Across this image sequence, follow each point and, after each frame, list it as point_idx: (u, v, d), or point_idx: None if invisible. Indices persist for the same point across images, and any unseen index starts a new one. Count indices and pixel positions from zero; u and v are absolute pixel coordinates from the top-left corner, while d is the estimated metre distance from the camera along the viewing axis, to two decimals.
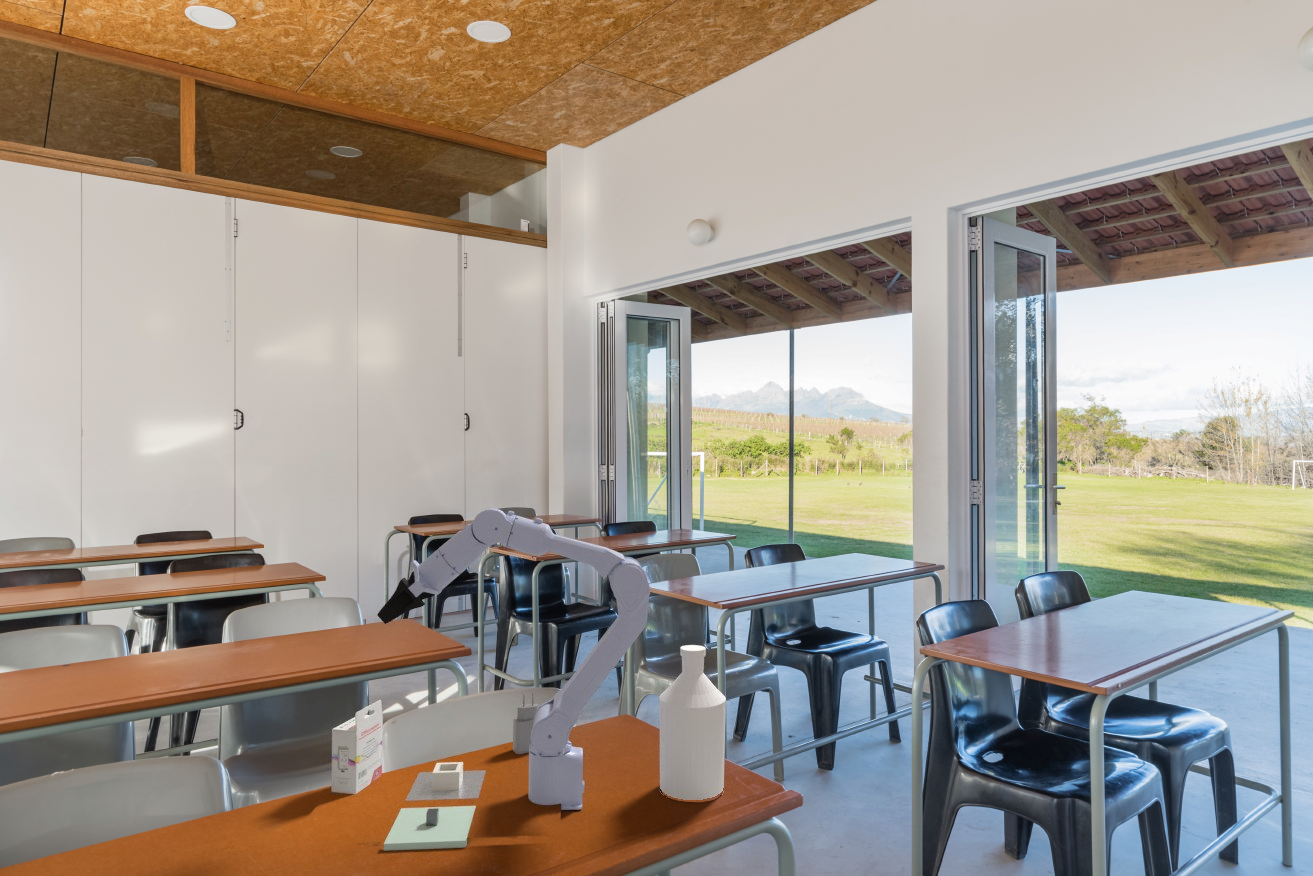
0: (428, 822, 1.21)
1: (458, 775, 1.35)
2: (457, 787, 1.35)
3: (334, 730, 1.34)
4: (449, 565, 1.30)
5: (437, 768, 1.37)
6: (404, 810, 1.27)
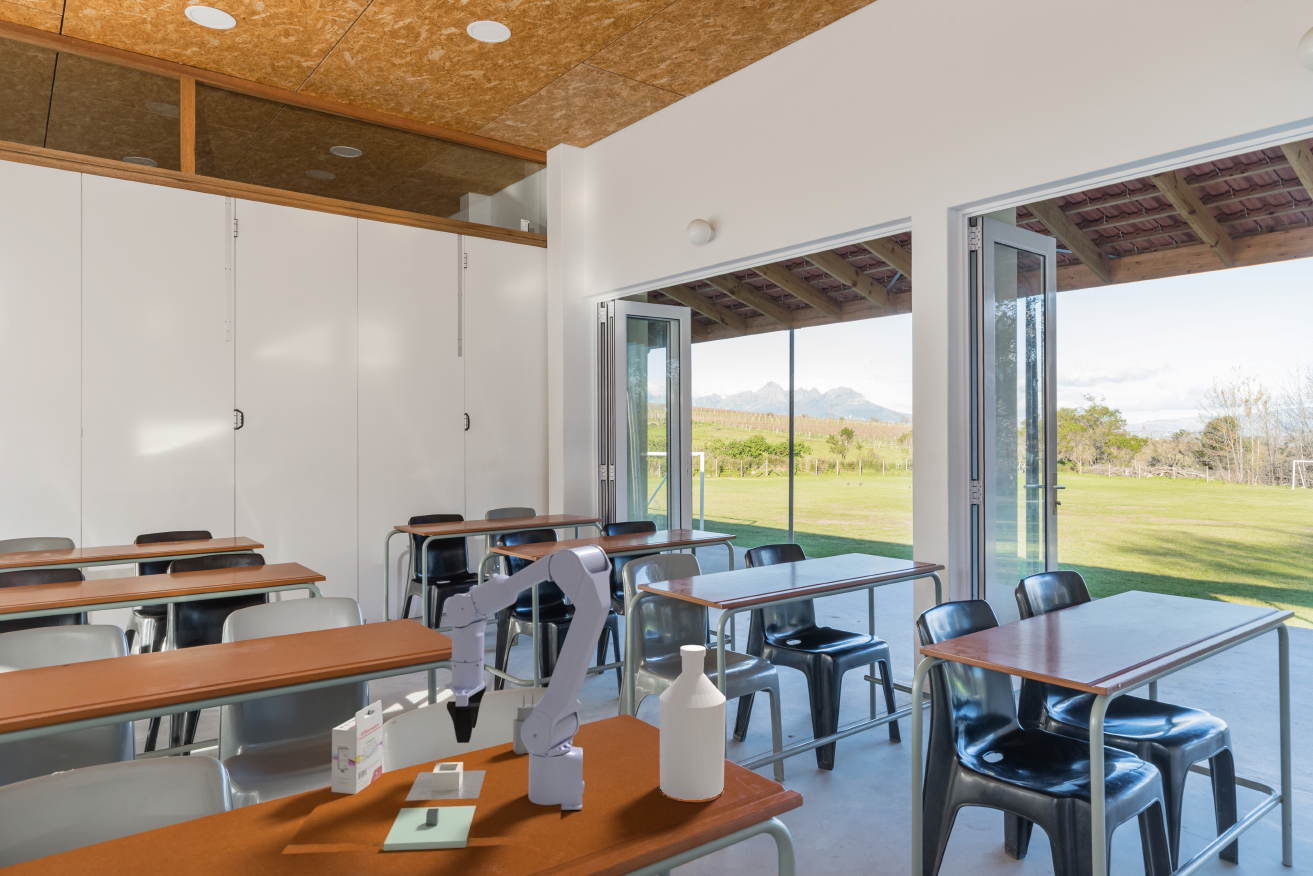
0: (428, 822, 1.21)
1: (458, 775, 1.35)
2: (457, 787, 1.35)
3: (334, 730, 1.34)
4: (468, 662, 1.39)
5: (437, 768, 1.37)
6: (404, 810, 1.27)
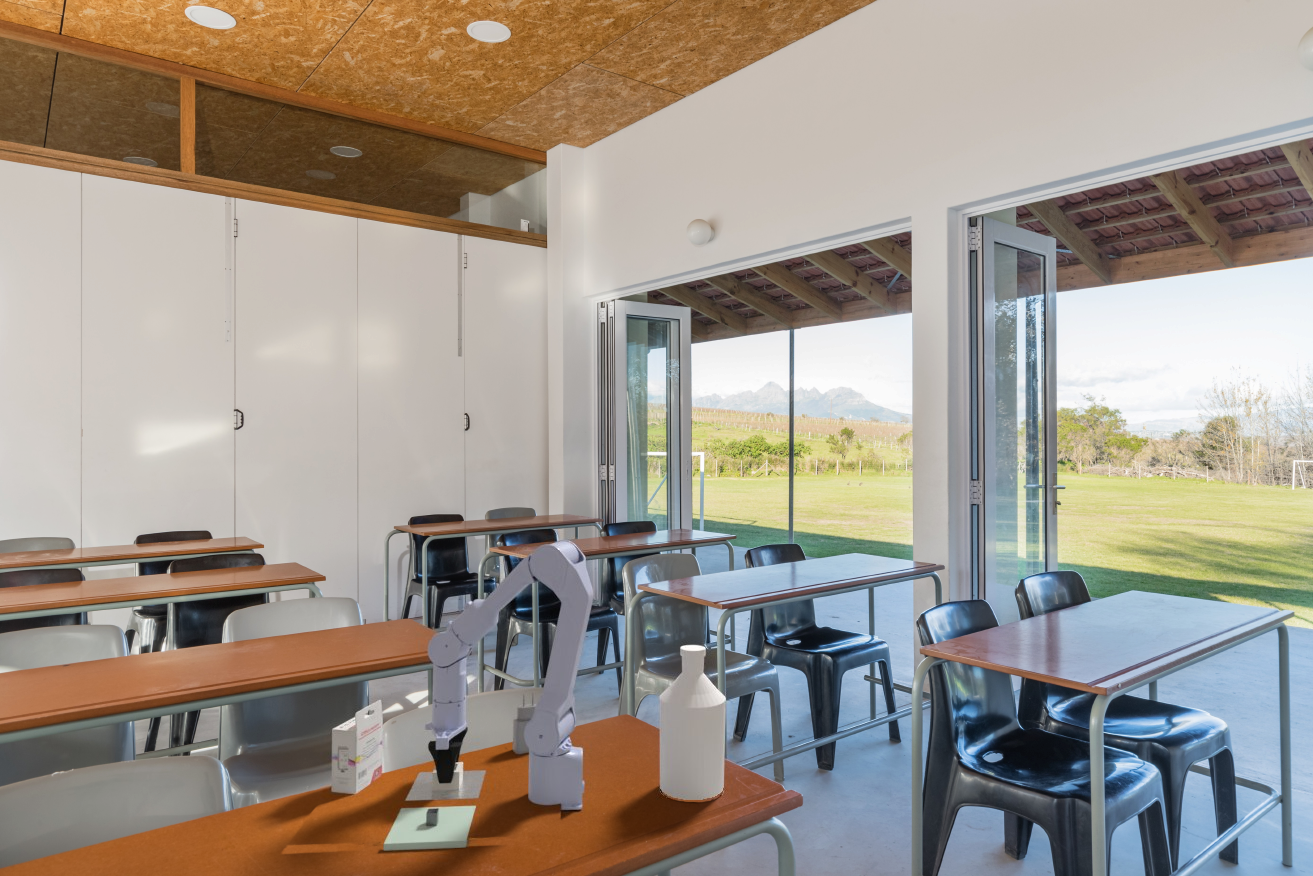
0: (428, 822, 1.21)
1: (458, 775, 1.35)
2: (457, 787, 1.35)
3: (334, 730, 1.34)
4: (450, 703, 1.35)
5: None
6: (404, 810, 1.27)
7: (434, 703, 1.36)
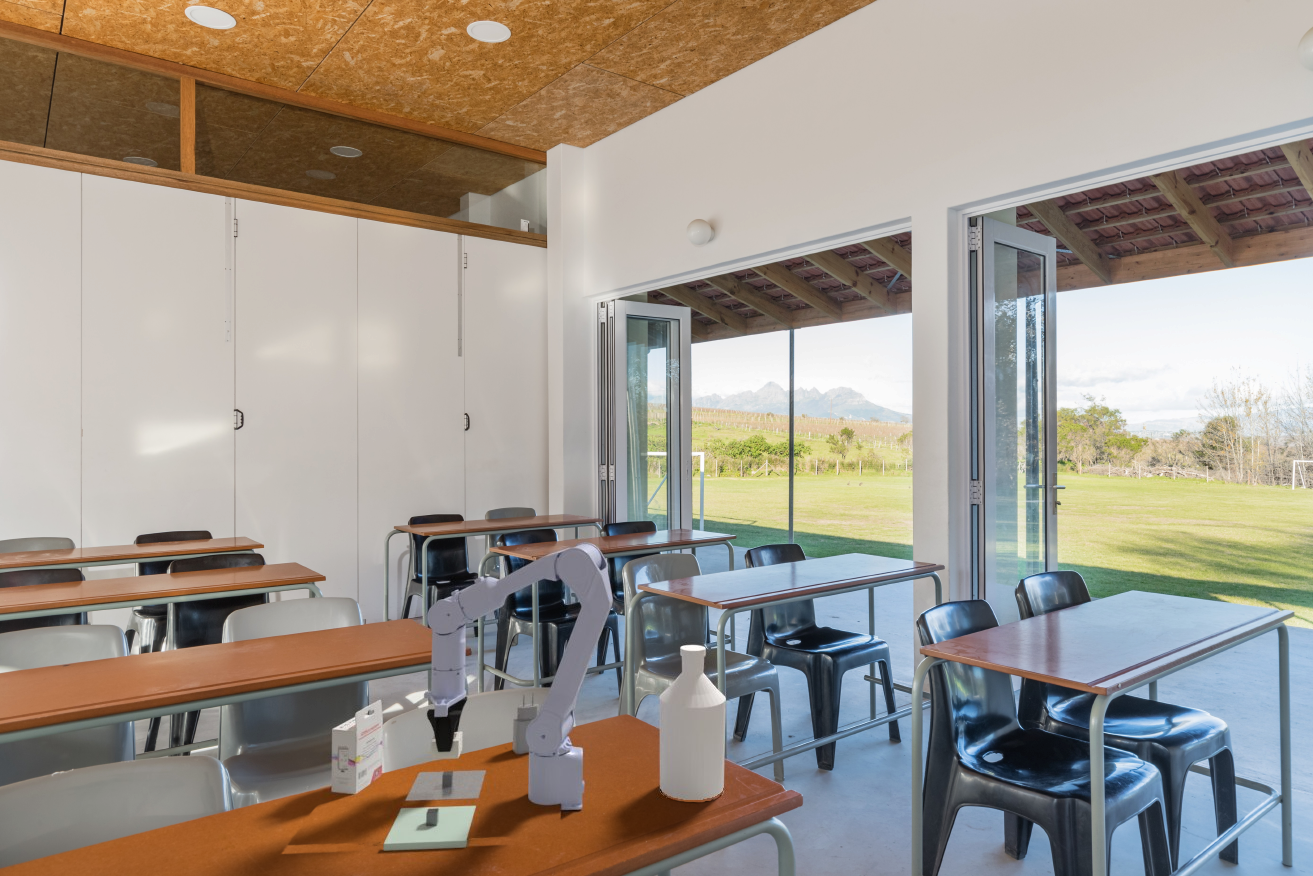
0: (428, 822, 1.21)
1: (457, 744, 1.34)
2: (456, 756, 1.33)
3: (334, 730, 1.34)
4: (449, 671, 1.33)
5: None
6: (404, 810, 1.27)
7: (433, 671, 1.34)
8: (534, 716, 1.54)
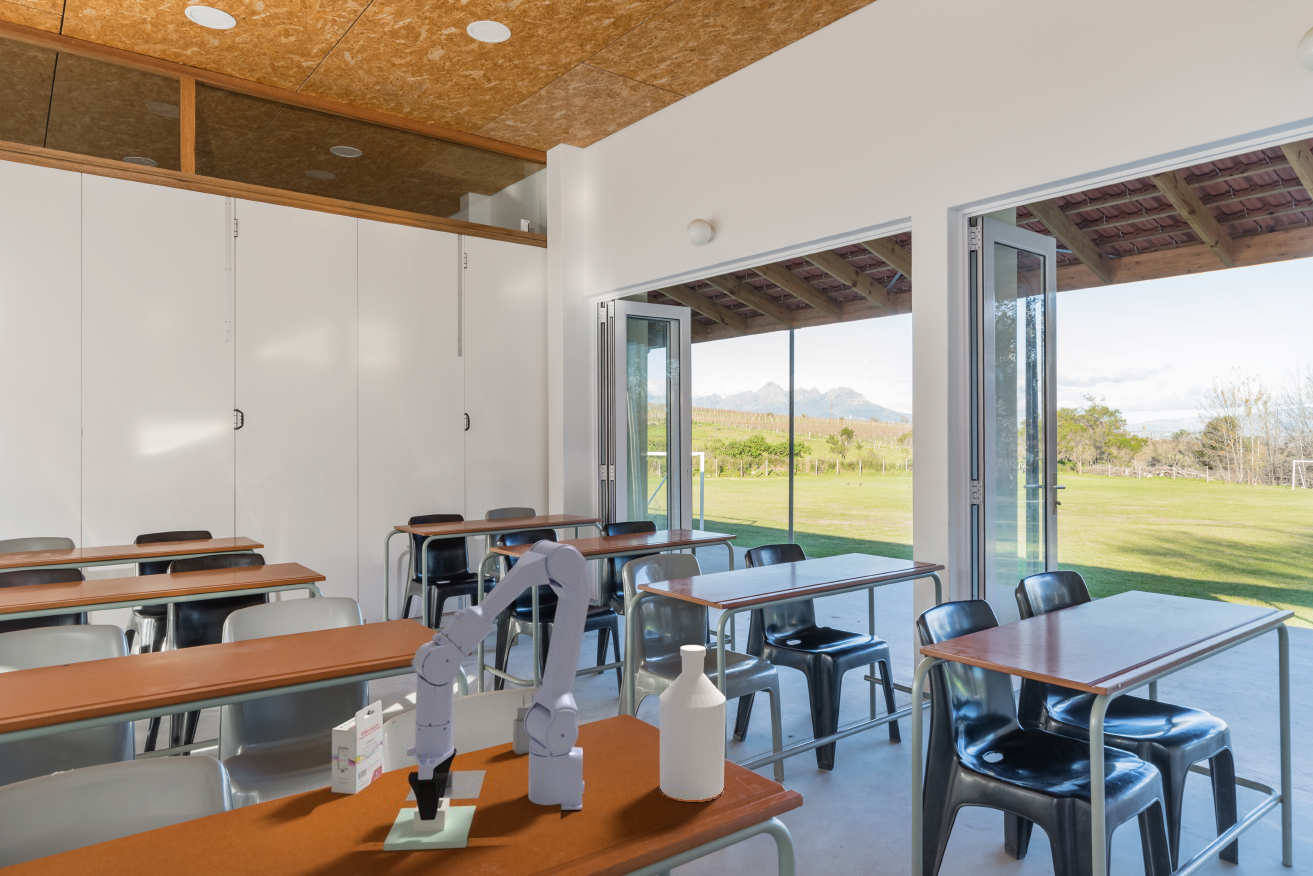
0: None
1: (443, 814, 1.20)
2: (442, 827, 1.20)
3: (334, 730, 1.34)
4: (434, 726, 1.20)
5: None
6: (404, 810, 1.27)
7: (417, 726, 1.21)
8: None
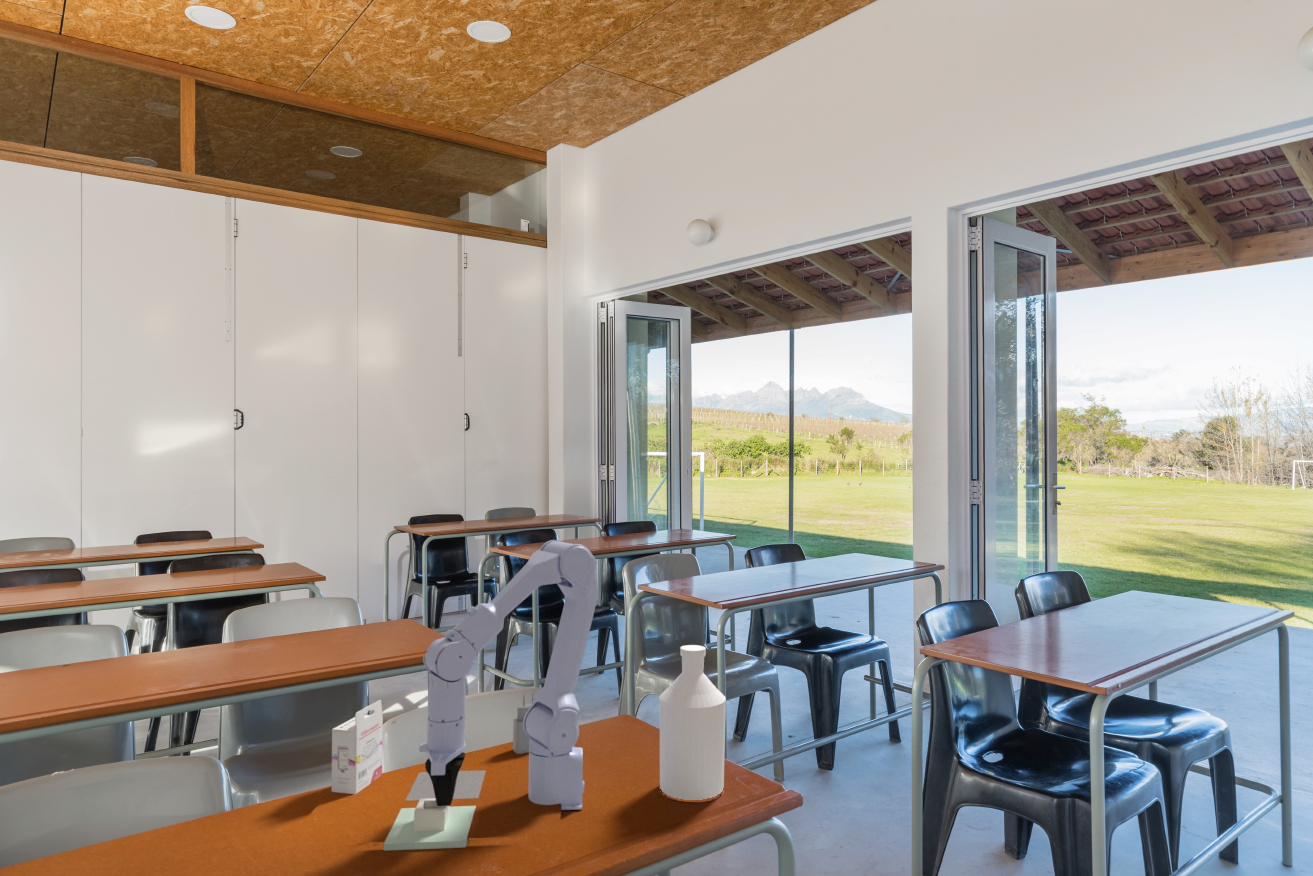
0: None
1: (443, 814, 1.20)
2: (442, 827, 1.20)
3: (334, 730, 1.34)
4: (447, 722, 1.20)
5: (420, 805, 1.22)
6: (404, 810, 1.27)
7: (429, 722, 1.21)
8: None
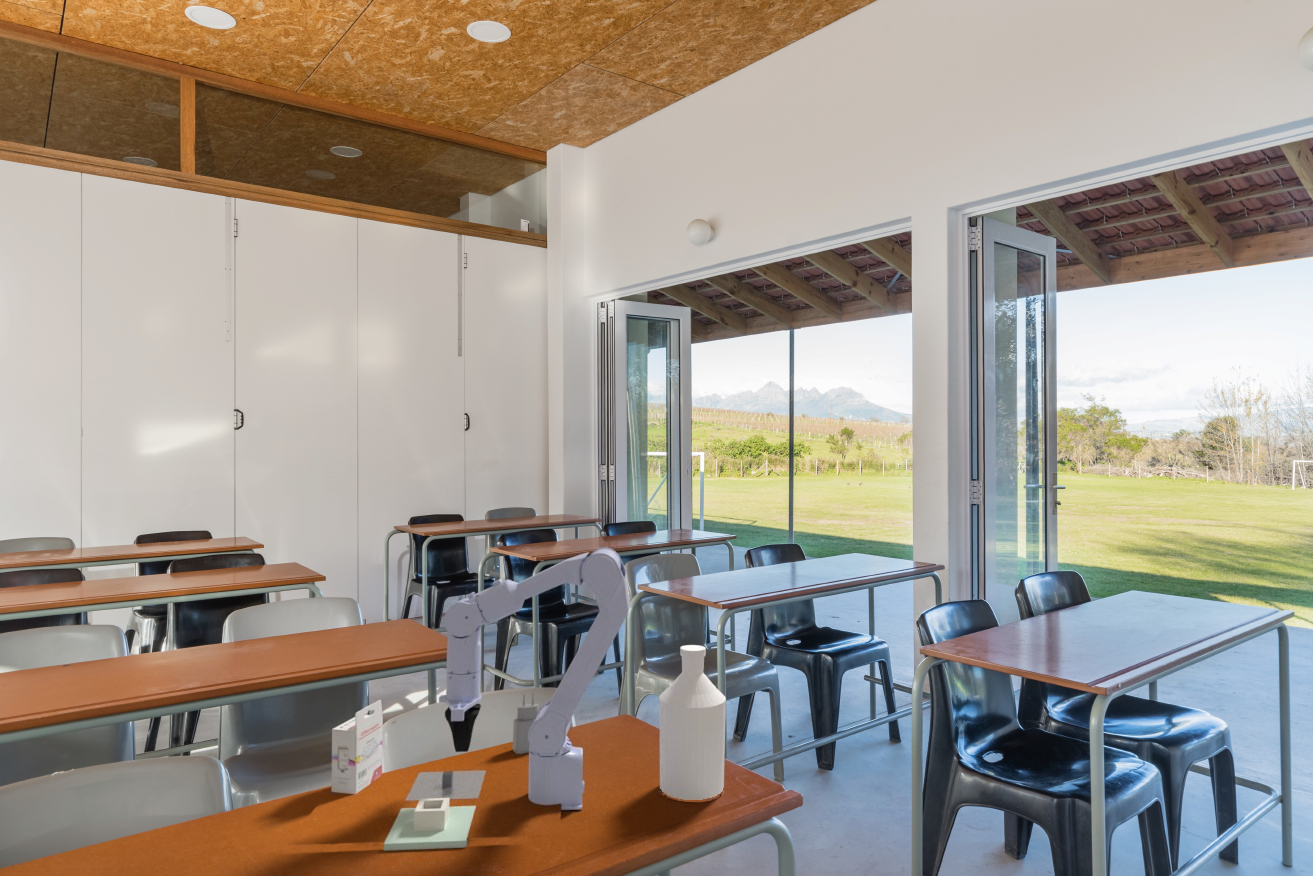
0: None
1: (443, 814, 1.20)
2: (442, 827, 1.20)
3: (334, 730, 1.34)
4: (464, 674, 1.31)
5: (420, 805, 1.22)
6: (404, 810, 1.27)
7: (448, 675, 1.32)
8: (534, 716, 1.54)
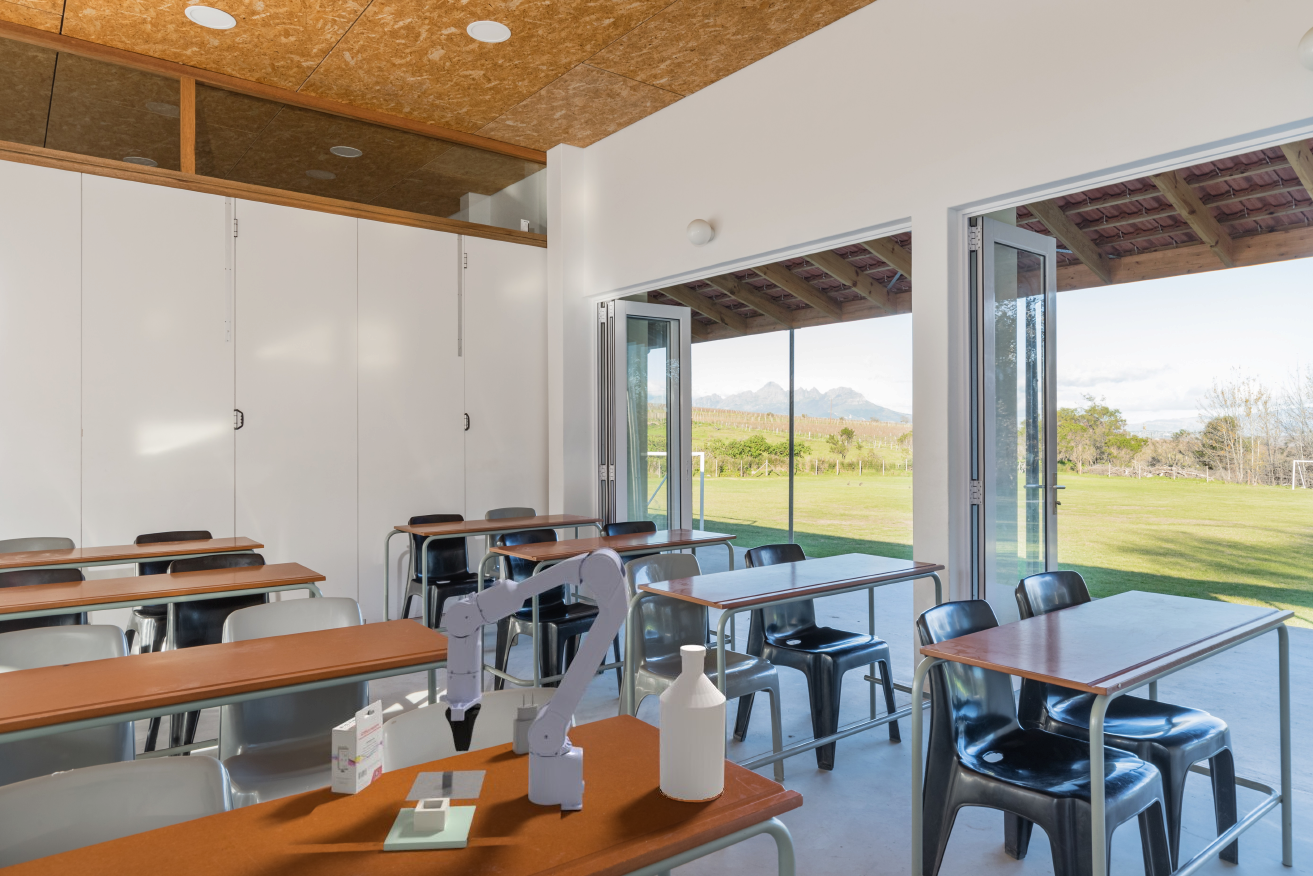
0: None
1: (443, 814, 1.20)
2: (442, 827, 1.20)
3: (334, 730, 1.34)
4: (465, 674, 1.31)
5: (420, 805, 1.22)
6: (404, 810, 1.27)
7: (449, 674, 1.32)
8: (534, 716, 1.54)
